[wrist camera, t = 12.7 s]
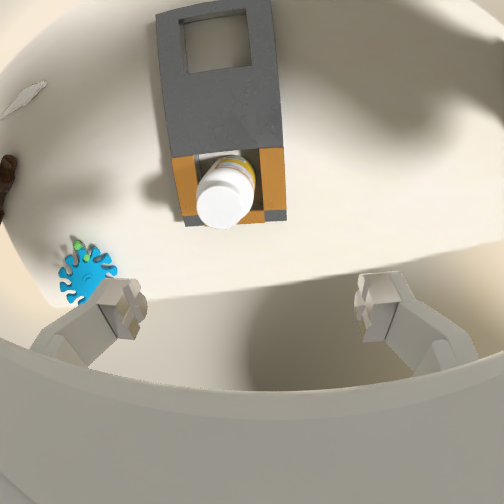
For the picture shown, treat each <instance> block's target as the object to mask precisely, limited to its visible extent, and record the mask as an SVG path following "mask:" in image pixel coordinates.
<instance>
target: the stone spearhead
mask: <svg viewBox="0 0 504 504" xmlns="http://www.w3.org/2000/svg"><path fill="white" fill-rule="evenodd" d="M46 85H47V82H45V81H43V80H42V81H40V82H39V83H37V84H32V85H31V86H30V87H27V88H24V89H23V90H22V91H21V92H20V93H19V94H18V96H17V98H16V99H15V100H14V101H13V102H12V103H11V104H10V106H9V107H8V108H7V109H6V110H5V112H4V113H3V114H2V115H1V117H0V120H1V119H3V118H4V117H6V116H7V115H9V114H10V113H12V112H14V111H15V110H17V109H18V108H19V107H20V106H25V105H27V104H28V103H29V102H30V101H31V99H32V98H33V97H34V96H36V95H37V94H38V92H39V91H40V90H41V89H42V88H44V87H45V86H46Z"/></svg>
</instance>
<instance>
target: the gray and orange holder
mask: <svg viewBox="0 0 504 504" xmlns="http://www.w3.org/2000/svg"><path fill="white" fill-rule="evenodd" d="M239 14H246V15H247V24H248V33H249V43H250V53H251V63H252V66H243V67H233V68H225V69H218V70H211V71H205V72H199V73H193V74H188V66H187V56H186V45H185V34H184V24H185V23H189V22H194V21H199V20H204V19H210V18H216V17H223V16H231V15H239ZM156 30H157V43H158V55H159V65H160V75H161V84H162V92H163V100H164V108H165V115H166V122H167V129H168V135H169V142H170V148H171V154H172V158H171V160H172V166H173V171H174V177H175V182H176V187H177V193H178V198H179V203H180V208H181V212H182V216H183V218H184V222H185V227H188V226H202V225H205V226H207V225H206V224H205V223H204V222H203V221H202V220H201V219H200V217H199V215H198V213H197V208H196V205H197V199H196V192H197V187H198V185H199V183H200V181H201V179H202V174H201V168H200V161H199V154H205V153H213V152H223V151H233V150H244V149H258V148H259V153H260V165H261V178H262V191H263V203H257V204H252V206H251V209H250V210H249V212H248V213H247V214H246V215H245V216H244V217H243V218H241V219H240V220H239V222H238V223H237V224H251V223H265V222H267V221H287V215H286V185H285V164H284V147H283V132H282V117H281V104H280V91H279V79H278V68H277V58H276V48H275V38H274V29H273V20H272V12H271V4H270V0H219V1H213V2H207V3H201V4H196V5H191V6H187V7H183V8H178V9H174V10H171V11H167V12H163V13H160V14H156Z"/></svg>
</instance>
